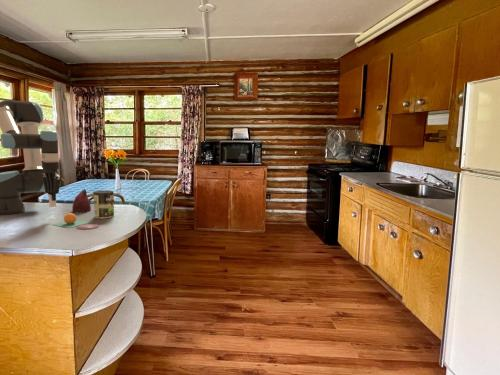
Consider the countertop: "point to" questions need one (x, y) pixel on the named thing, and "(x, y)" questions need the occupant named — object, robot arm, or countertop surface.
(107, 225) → the countertop surface
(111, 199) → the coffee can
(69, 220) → the ball
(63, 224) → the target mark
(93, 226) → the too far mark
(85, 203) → the vegetable
